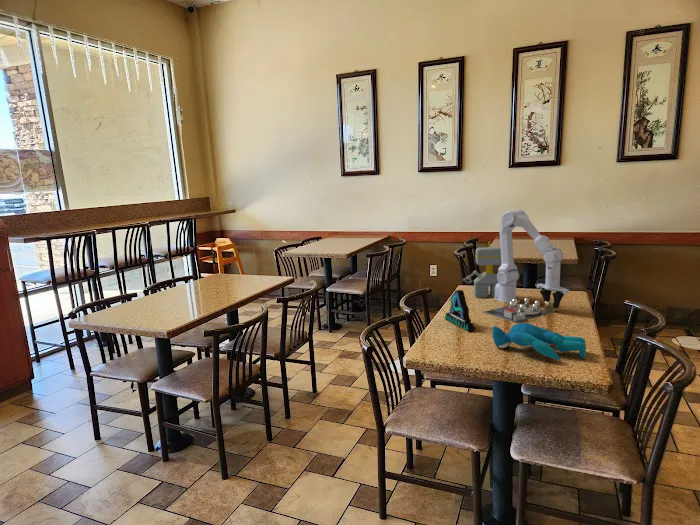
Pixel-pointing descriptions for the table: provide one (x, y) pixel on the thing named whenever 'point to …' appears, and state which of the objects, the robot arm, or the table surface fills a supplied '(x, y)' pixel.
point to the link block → (550, 306)
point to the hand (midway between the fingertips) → (551, 306)
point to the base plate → (516, 318)
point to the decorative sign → (463, 316)
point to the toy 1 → (488, 258)
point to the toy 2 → (538, 340)
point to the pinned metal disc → (526, 307)
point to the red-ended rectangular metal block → (510, 313)
